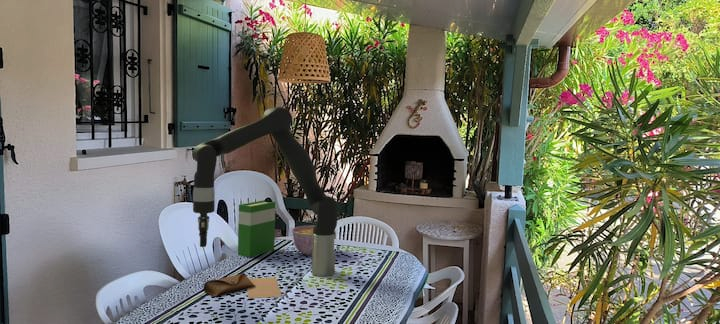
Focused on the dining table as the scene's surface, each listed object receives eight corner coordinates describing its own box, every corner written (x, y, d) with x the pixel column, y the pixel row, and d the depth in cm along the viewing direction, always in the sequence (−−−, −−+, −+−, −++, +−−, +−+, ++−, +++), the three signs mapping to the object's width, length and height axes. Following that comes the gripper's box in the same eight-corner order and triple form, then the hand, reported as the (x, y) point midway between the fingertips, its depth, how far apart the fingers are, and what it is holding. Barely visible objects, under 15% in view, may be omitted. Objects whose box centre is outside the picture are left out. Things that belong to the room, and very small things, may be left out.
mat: (275, 278, 200) (275, 277, 200) (281, 297, 179) (281, 296, 179) (245, 279, 197) (245, 278, 197) (248, 299, 176) (248, 298, 176)
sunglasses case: (215, 296, 175) (210, 278, 177) (206, 301, 180) (201, 283, 182) (257, 285, 189) (252, 268, 190) (248, 290, 193) (243, 274, 195)
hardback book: (262, 247, 247) (263, 200, 245) (274, 249, 243) (275, 201, 241) (237, 254, 232) (238, 204, 230) (249, 257, 228) (250, 206, 226)
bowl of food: (330, 259, 230) (331, 235, 229) (288, 257, 230) (288, 233, 229) (333, 248, 249) (334, 226, 249) (294, 247, 250) (295, 224, 249)
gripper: (214, 202, 174) (213, 250, 175) (214, 196, 187) (214, 240, 189) (191, 202, 172) (191, 250, 173) (194, 196, 185) (193, 241, 187)
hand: (203, 245), depth 181 cm, fingers open, 3 cm apart
